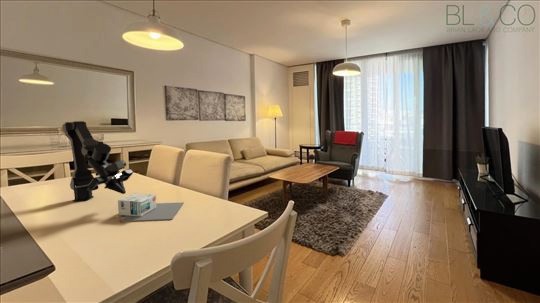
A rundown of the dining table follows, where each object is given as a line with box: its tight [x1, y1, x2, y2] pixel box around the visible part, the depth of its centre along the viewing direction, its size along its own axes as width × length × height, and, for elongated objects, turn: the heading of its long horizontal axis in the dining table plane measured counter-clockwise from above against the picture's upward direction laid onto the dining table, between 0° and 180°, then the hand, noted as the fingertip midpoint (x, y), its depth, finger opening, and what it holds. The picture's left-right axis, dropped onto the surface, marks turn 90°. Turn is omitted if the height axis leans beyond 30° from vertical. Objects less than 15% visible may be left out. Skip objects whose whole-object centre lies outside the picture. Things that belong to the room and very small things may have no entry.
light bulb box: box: [117, 192, 157, 217], centre depth 108 cm, size 11×7×11 cm
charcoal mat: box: [119, 201, 185, 223], centre depth 109 cm, size 20×20×1 cm
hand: (124, 193), depth 108 cm, fingers closed
